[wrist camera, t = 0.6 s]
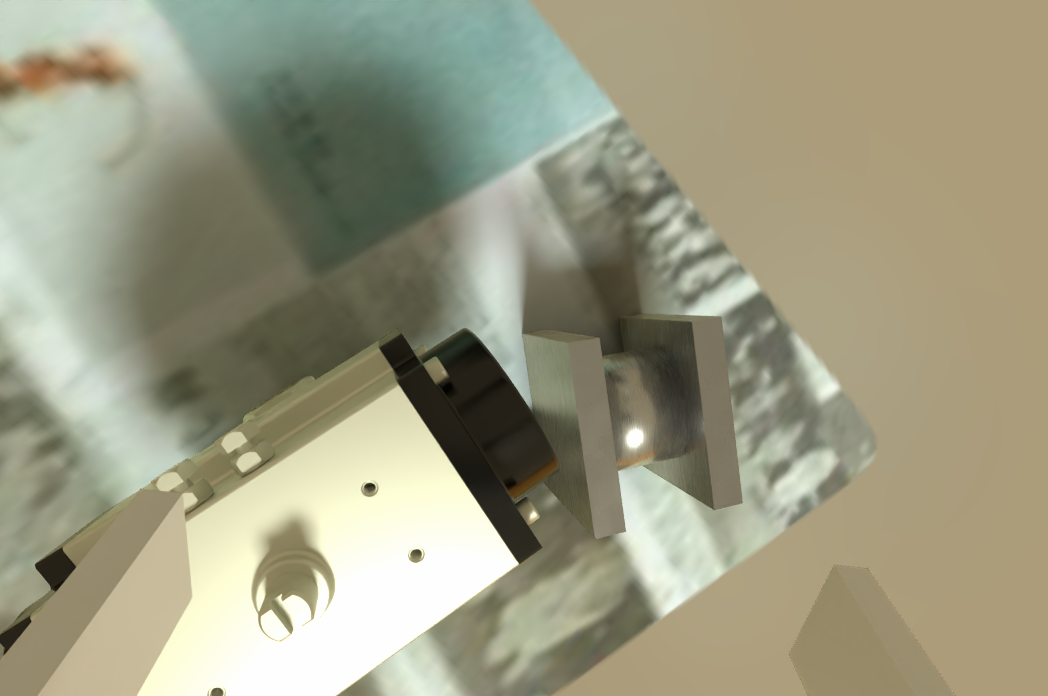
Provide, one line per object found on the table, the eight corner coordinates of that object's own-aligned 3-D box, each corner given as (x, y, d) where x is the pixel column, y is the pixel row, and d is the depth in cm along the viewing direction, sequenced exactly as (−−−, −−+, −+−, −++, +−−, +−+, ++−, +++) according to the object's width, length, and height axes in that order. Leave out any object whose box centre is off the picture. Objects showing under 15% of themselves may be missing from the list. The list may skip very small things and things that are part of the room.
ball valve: (423, 295, 35) (468, 287, 17) (504, 420, 36) (618, 527, 19) (123, 482, 32) (-176, 692, 15) (224, 609, 33) (60, 934, 16)
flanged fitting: (521, 333, 36) (567, 342, 27) (642, 313, 38) (721, 316, 29) (544, 483, 37) (594, 538, 28) (660, 458, 39) (742, 503, 30)
